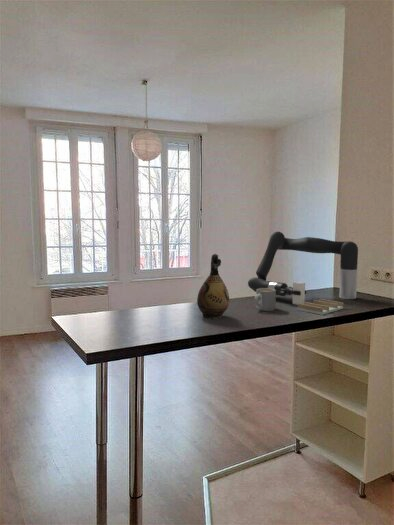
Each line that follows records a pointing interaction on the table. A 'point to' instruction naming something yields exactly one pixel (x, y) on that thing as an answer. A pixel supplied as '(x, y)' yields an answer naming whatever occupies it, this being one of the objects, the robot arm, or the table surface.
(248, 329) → the table surface
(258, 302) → the coffee mug
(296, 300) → the clay bar
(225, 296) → the ceramic jug
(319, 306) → the drying rack
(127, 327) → the table surface
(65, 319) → the table surface
